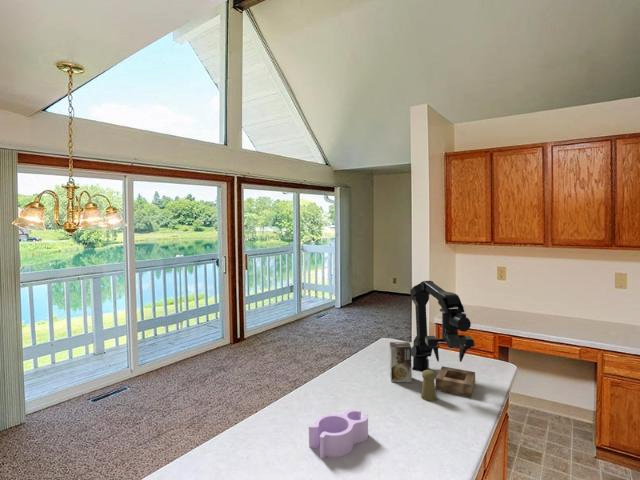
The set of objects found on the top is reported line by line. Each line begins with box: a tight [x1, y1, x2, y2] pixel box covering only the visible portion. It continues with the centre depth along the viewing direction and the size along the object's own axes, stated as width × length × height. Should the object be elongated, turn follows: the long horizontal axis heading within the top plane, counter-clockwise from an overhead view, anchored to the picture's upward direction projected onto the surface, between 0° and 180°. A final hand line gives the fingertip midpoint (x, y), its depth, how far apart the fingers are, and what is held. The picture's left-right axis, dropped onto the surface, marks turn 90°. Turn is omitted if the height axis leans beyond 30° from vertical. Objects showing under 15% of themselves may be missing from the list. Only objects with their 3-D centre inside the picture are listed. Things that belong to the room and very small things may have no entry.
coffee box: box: [389, 341, 413, 383], centre depth 166 cm, size 9×6×16 cm
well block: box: [435, 365, 476, 398], centre depth 159 cm, size 14×14×5 cm
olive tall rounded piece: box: [420, 369, 437, 402], centre depth 149 cm, size 6×6×11 cm
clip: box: [308, 408, 369, 460], centre depth 121 cm, size 20×12×7 cm, turn 123°
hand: (449, 361), depth 154 cm, fingers open, 9 cm apart
